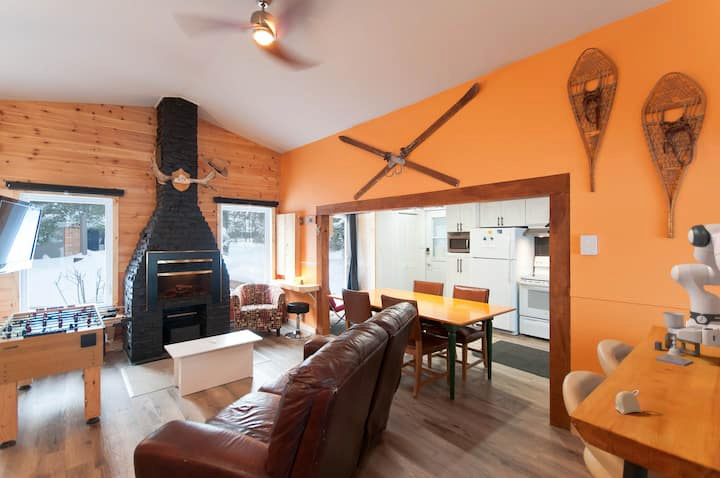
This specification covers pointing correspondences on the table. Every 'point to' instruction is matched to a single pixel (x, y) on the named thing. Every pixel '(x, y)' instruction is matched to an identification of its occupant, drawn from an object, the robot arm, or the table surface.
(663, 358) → the coaster
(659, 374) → the table surface
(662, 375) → the table surface
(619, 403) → the decorative ornament
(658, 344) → the latch block
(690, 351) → the gate leaf
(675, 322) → the chalice
